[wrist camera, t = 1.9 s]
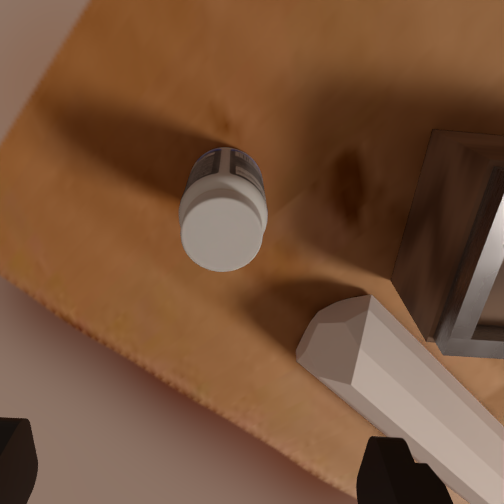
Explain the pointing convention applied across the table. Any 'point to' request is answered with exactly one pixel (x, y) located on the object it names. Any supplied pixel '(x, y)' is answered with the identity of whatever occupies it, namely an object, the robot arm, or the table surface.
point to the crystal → (406, 394)
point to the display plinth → (457, 246)
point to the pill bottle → (223, 210)
